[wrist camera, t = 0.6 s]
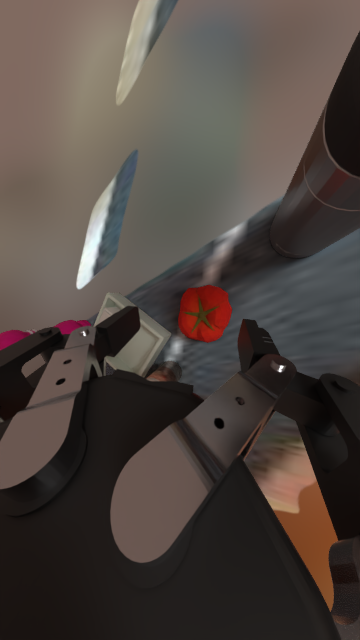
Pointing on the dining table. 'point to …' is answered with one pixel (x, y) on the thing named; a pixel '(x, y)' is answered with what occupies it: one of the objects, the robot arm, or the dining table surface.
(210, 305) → the tomato
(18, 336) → the pepper mill
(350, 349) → the dining table surface
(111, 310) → the off-white tapered piece
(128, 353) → the tote
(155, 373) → the clear lidded jar
